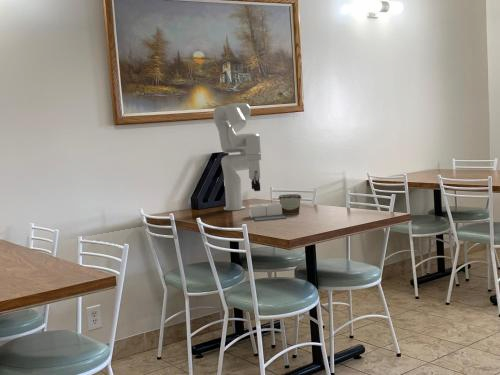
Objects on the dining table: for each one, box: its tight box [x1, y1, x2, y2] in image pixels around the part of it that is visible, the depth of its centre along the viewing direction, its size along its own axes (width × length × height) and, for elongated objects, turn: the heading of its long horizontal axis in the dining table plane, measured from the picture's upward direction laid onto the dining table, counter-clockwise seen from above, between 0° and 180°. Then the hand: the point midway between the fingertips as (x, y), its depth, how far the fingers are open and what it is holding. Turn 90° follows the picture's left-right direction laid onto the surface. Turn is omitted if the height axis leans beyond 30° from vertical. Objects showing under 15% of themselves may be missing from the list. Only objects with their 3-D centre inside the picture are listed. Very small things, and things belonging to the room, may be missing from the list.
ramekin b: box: [263, 202, 282, 216], centre depth 337 cm, size 8×8×6 cm
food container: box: [278, 193, 302, 215], centre depth 339 cm, size 12×6×10 cm, turn 85°
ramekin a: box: [248, 203, 266, 219], centre depth 336 cm, size 8×8×6 cm
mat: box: [252, 214, 288, 222], centre depth 329 cm, size 12×16×1 cm
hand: (256, 189), depth 335 cm, fingers open, 9 cm apart
